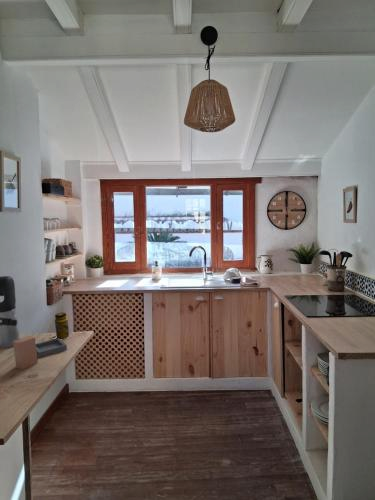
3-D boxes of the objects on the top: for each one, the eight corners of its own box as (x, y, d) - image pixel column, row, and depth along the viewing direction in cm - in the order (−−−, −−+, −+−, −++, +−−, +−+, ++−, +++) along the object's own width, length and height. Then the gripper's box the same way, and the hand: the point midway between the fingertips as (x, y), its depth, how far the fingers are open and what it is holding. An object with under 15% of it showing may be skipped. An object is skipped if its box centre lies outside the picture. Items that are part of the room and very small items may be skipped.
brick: (16, 366, 152) (12, 341, 151) (32, 360, 158) (29, 335, 156) (21, 369, 149) (18, 343, 148) (37, 362, 155) (34, 337, 153)
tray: (32, 349, 170) (32, 344, 170) (58, 342, 177) (58, 337, 177) (39, 357, 160) (38, 352, 160) (66, 349, 167) (66, 345, 167)
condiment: (72, 336, 184) (70, 313, 182) (56, 341, 178) (53, 317, 176) (65, 333, 189) (63, 310, 187) (49, 338, 183) (47, 315, 182)
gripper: (-15, 308, 128) (23, 313, 142) (-42, 309, 134) (-3, 313, 148) (-19, 330, 126) (20, 333, 140) (-46, 331, 132) (-6, 333, 146)
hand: (8, 323), depth 144 cm, fingers open, 8 cm apart
